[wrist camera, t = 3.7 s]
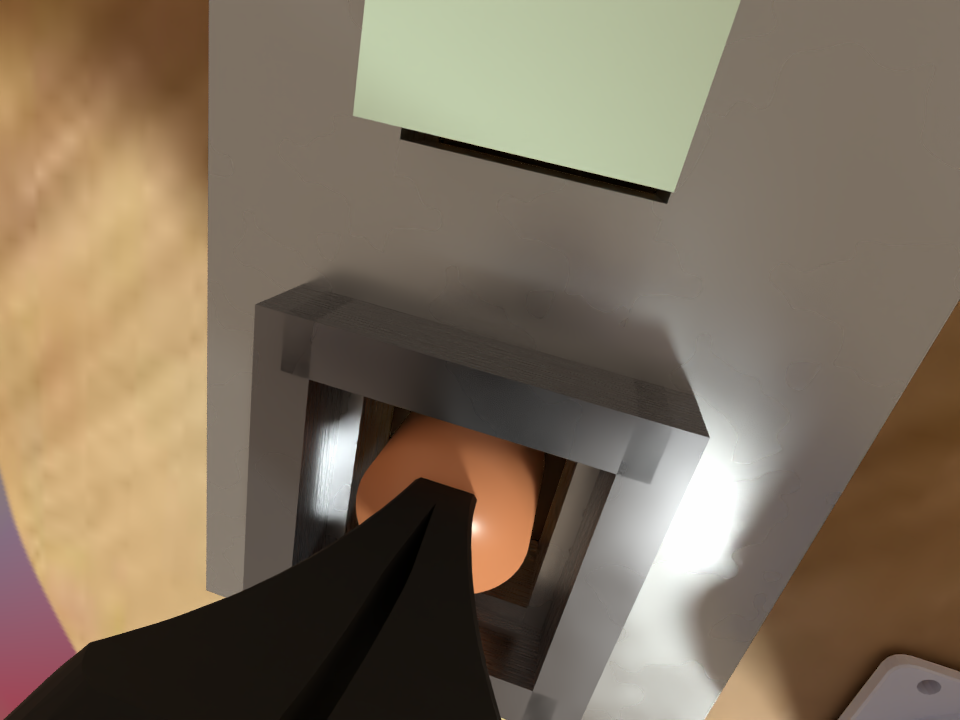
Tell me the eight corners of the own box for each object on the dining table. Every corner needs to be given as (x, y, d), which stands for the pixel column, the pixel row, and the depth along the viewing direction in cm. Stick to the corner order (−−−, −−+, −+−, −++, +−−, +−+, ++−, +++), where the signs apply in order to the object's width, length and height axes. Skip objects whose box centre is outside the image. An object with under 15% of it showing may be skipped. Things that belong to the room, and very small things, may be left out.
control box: (1209, -331, 8) (1830, -832, 4) (667, 679, 16) (685, 840, 12) (309, -425, 9) (98, -835, 5) (257, 535, 18) (162, 638, 14)
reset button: (562, 413, 13) (551, 478, 11) (524, 534, 15) (505, 617, 12) (413, 369, 14) (367, 419, 11) (391, 491, 15) (346, 561, 13)
